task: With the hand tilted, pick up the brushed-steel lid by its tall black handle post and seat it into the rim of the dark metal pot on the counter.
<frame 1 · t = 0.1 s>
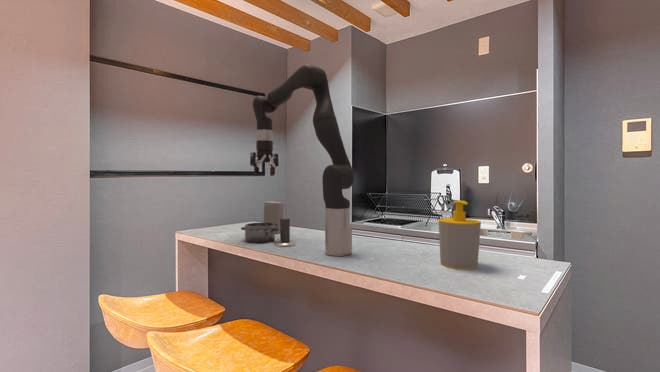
hand: (264, 175, 159), 29 cm above the counter, tool pointing down, fingers open, 8 cm apart
pot: (260, 240, 154), on the counter
soap bottle: (458, 265, 113), on the counter
skincare box: (273, 233, 175), on the counter
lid: (285, 244, 145), on the counter
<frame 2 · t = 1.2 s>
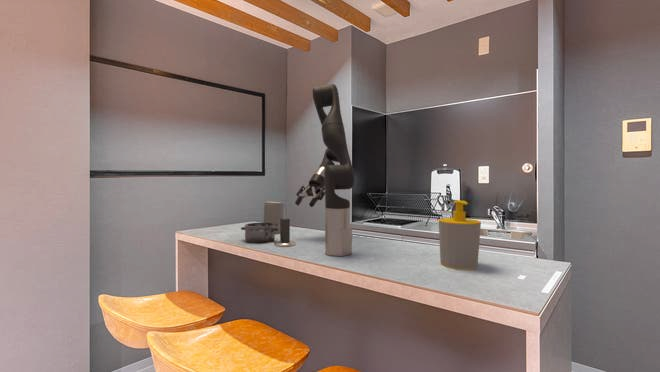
hand: (303, 205, 153), 16 cm above the counter, tool tilted 45°, fingers open, 8 cm apart
nothing on the counter moved.
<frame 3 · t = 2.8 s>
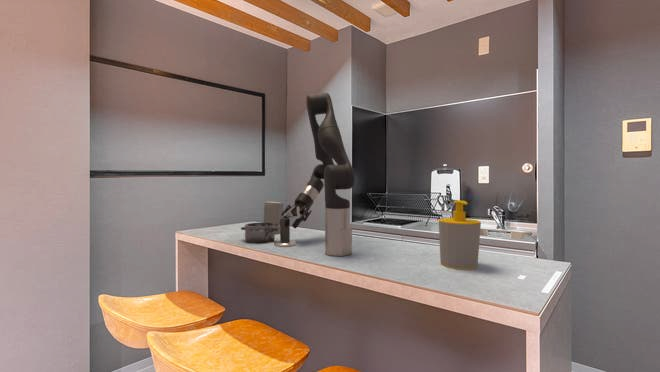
hand: (287, 226, 146), 8 cm above the counter, tool tilted 45°, fingers open, 8 cm apart
nothing on the counter moved.
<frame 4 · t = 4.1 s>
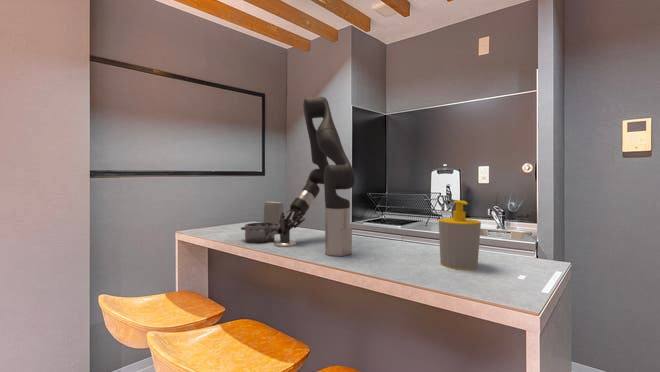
hand: (281, 233, 144), 5 cm above the counter, tool tilted 45°, fingers closed on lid, 2 cm apart
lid: (284, 244, 145), on the counter, touching gripper
everything else where it was.
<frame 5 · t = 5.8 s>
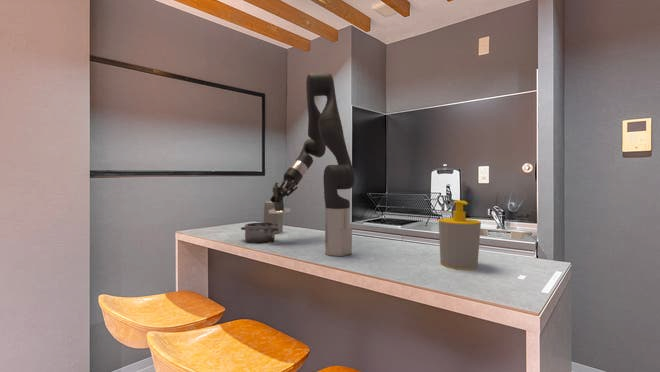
hand: (274, 201, 146), 18 cm above the counter, tool tilted 45°, fingers closed on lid, 2 cm apart
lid: (279, 212, 148), point 13 cm above the counter, tilted 7°, touching gripper
everything else where it was.
when the fingers open (12 cm above the counter, at t = 7.7 s): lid drops 2 cm, resting on pot.
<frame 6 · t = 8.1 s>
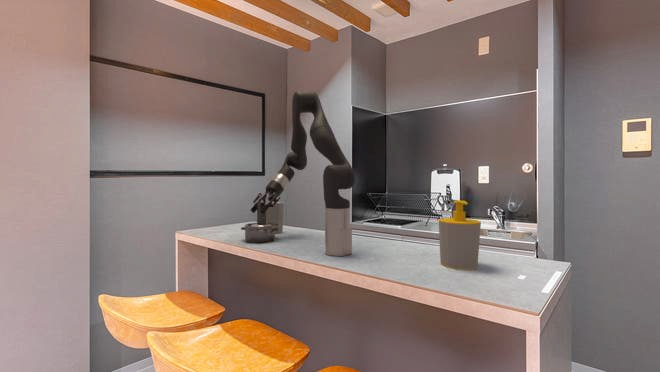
hand: (256, 212, 152), 13 cm above the counter, tool tilted 45°, fingers open, 6 cm apart
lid: (261, 227, 154), point 6 cm above the counter, touching pot
everything else where it was.
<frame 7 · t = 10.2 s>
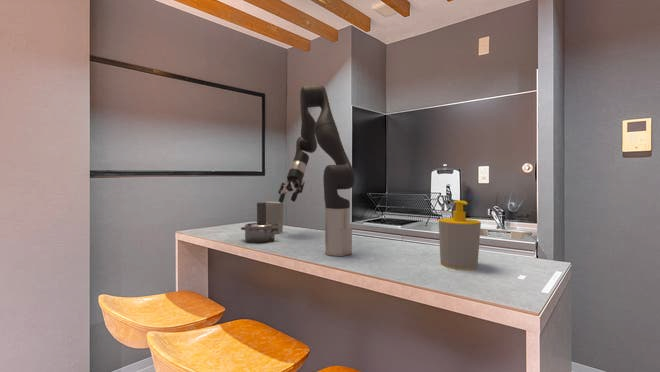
hand: (286, 201, 160), 17 cm above the counter, tool tilted 30°, fingers open, 8 cm apart
nothing on the counter moved.
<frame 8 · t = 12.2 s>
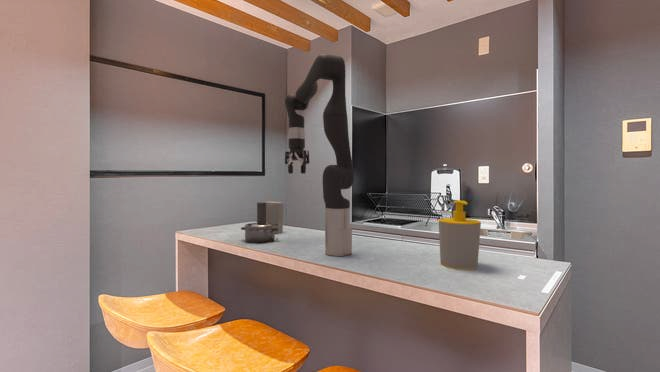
hand: (296, 173, 159), 30 cm above the counter, tool pointing down, fingers open, 8 cm apart
nothing on the counter moved.
at the end: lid 0.9 cm off-centre on the pot, point 6.0 cm above the pot's base; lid tilted 0°; the gripper is holding nothing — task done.
